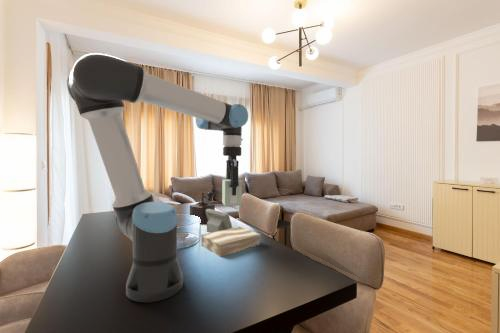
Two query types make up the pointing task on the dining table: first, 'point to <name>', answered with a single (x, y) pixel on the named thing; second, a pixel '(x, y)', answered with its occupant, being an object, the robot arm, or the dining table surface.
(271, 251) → the dining table surface
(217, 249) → the birch box
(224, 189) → the sage block
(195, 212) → the dark brown irregular piece
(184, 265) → the dining table surface
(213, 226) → the digital clock
